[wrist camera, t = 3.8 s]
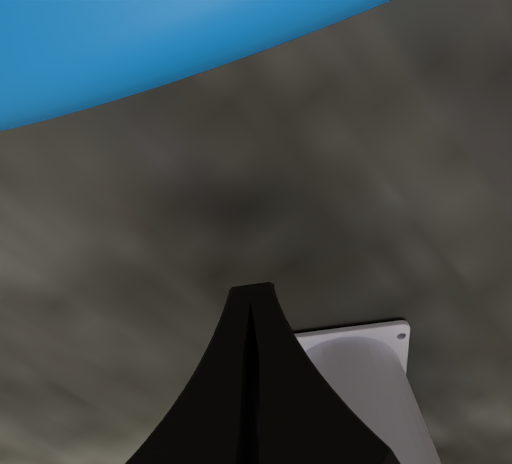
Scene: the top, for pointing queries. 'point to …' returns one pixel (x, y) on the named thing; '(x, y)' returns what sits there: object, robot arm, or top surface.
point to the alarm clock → (135, 46)
